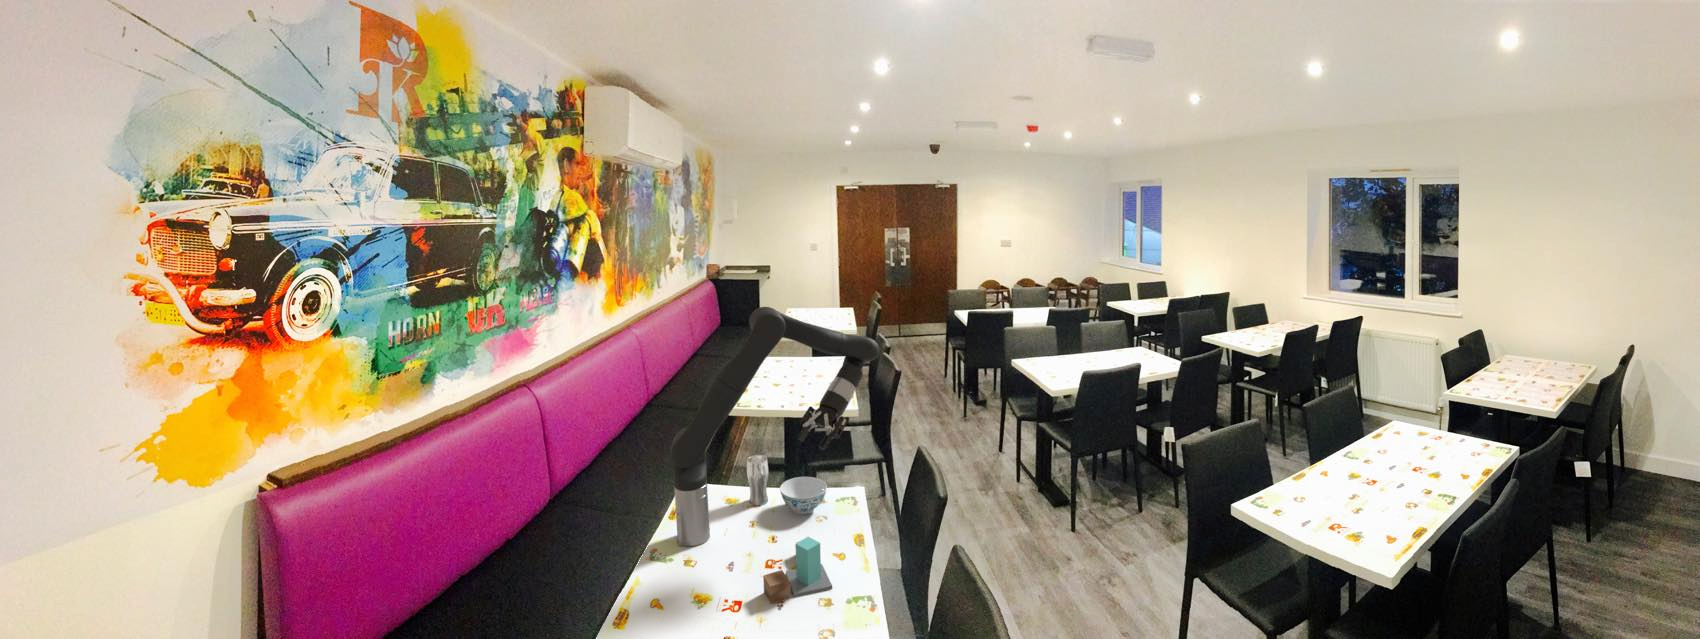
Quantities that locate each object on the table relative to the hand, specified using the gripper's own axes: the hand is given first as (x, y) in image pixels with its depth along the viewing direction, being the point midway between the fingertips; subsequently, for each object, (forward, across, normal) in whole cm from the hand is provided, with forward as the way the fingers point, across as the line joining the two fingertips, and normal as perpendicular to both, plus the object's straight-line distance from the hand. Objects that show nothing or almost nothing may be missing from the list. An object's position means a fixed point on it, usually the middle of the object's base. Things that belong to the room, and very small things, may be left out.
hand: (810, 444), depth 168 cm
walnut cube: (+38, +11, +5) cm, 40 cm away
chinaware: (+13, -15, +30) cm, 36 cm away
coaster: (+31, +13, +12) cm, 35 cm away
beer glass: (+18, -30, +25) cm, 43 cm away
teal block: (+30, +13, +11) cm, 35 cm away
